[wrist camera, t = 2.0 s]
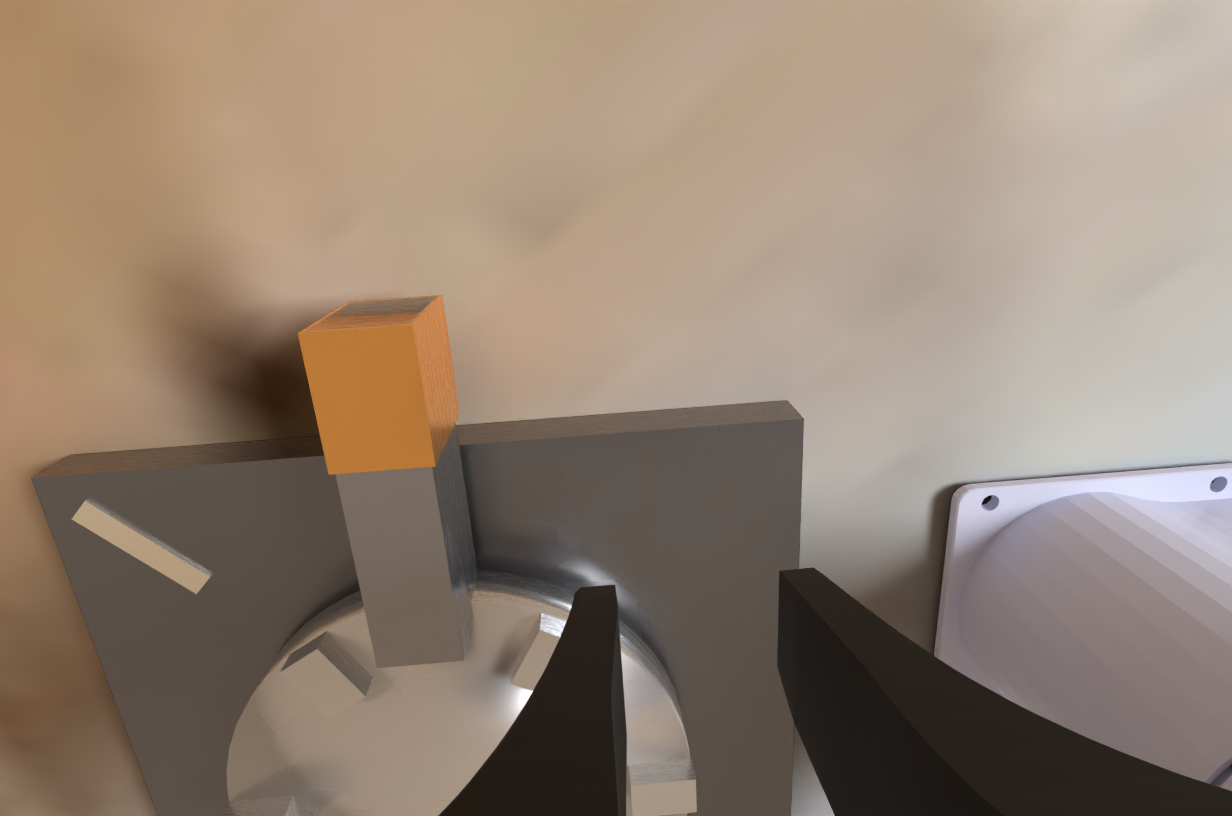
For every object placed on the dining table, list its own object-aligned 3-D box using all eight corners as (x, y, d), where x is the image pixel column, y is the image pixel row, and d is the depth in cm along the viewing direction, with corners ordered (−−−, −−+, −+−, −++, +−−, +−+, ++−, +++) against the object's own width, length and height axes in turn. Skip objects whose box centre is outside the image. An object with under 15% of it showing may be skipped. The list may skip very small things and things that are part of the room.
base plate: (787, 400, 20) (805, 420, 18) (775, 895, 27) (787, 939, 25) (70, 454, 19) (28, 479, 18) (243, 948, 26) (223, 996, 24)
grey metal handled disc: (668, 278, 17) (690, 305, 14) (689, 885, 24) (707, 994, 21) (117, 317, 16) (9, 353, 13) (301, 923, 23) (259, 1041, 20)
